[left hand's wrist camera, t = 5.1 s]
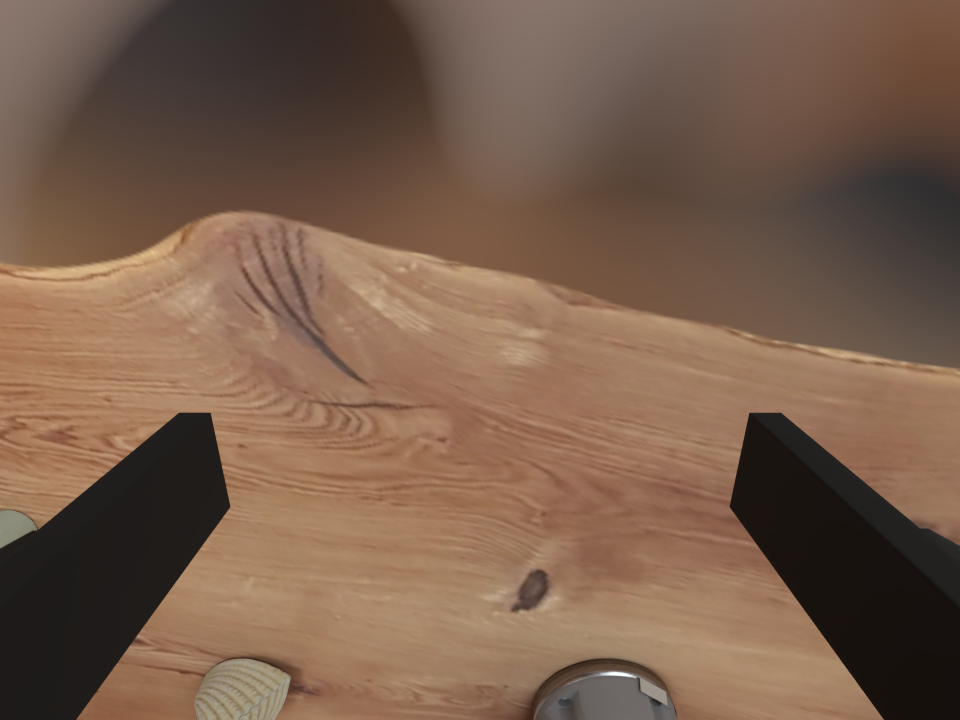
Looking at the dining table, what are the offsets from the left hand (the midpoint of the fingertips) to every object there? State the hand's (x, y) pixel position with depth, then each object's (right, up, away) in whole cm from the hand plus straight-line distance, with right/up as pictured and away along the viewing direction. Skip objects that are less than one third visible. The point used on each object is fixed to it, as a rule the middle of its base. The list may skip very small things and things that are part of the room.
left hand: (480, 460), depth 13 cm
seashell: (-25, -32, +42) cm, 59 cm away
